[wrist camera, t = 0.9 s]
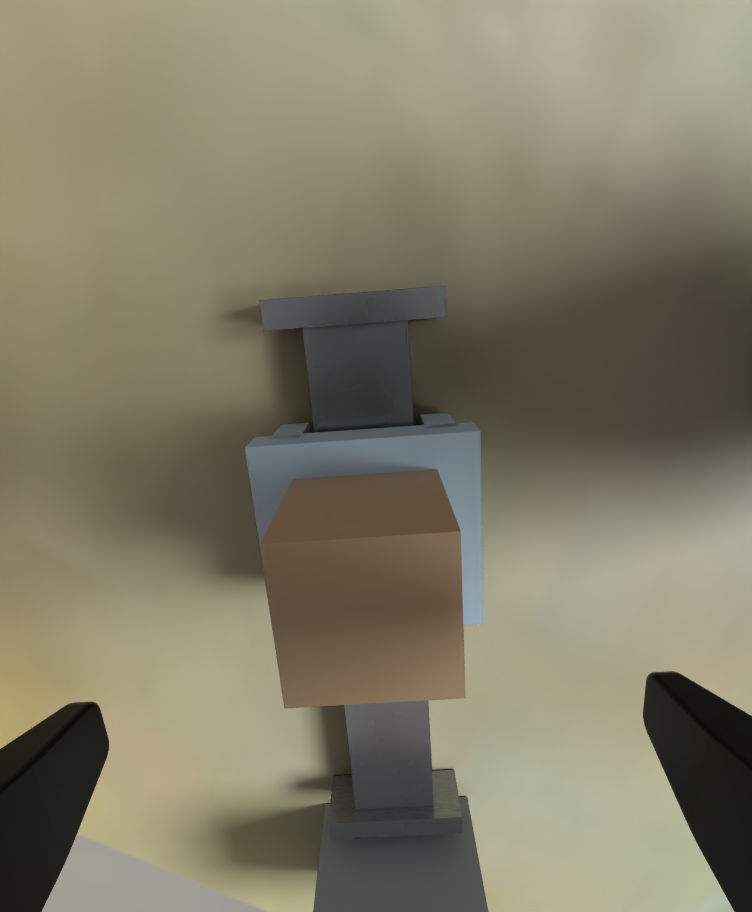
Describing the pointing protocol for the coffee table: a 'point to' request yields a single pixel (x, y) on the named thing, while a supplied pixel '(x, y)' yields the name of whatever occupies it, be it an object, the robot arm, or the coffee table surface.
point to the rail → (353, 408)
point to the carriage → (370, 558)
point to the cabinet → (400, 872)
